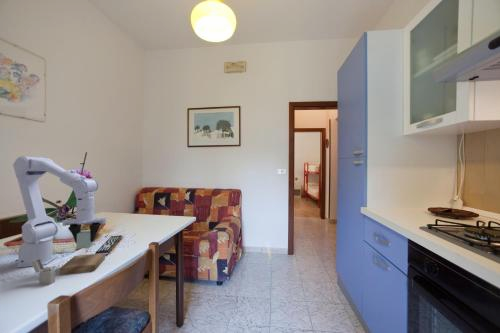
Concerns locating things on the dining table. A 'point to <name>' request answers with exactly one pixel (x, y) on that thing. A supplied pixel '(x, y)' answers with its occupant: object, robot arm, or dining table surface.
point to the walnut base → (82, 264)
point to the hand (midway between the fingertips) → (85, 241)
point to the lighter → (44, 272)
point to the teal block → (84, 239)
